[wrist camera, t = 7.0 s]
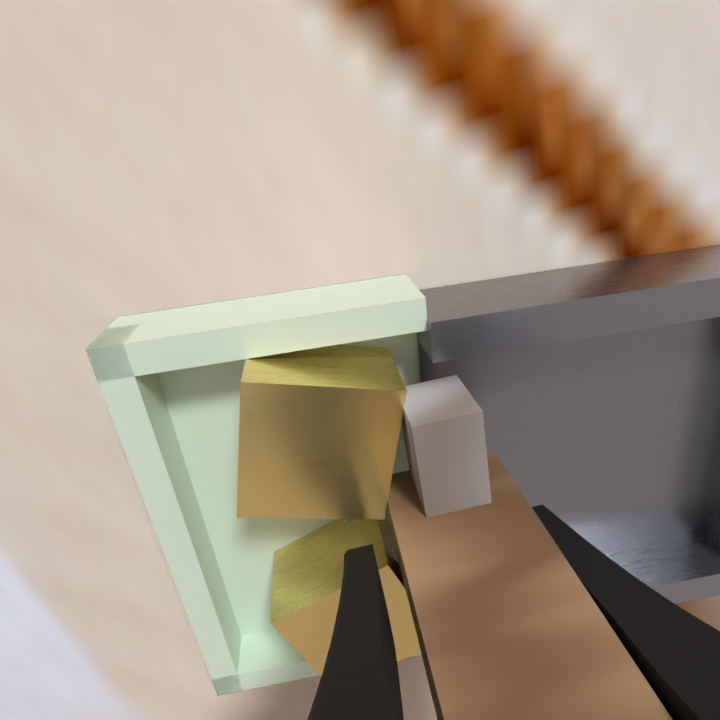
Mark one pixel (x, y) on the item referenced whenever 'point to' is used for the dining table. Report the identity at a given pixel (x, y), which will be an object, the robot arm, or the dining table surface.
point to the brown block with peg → (496, 583)
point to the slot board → (602, 401)
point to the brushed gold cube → (318, 433)
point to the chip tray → (232, 446)
